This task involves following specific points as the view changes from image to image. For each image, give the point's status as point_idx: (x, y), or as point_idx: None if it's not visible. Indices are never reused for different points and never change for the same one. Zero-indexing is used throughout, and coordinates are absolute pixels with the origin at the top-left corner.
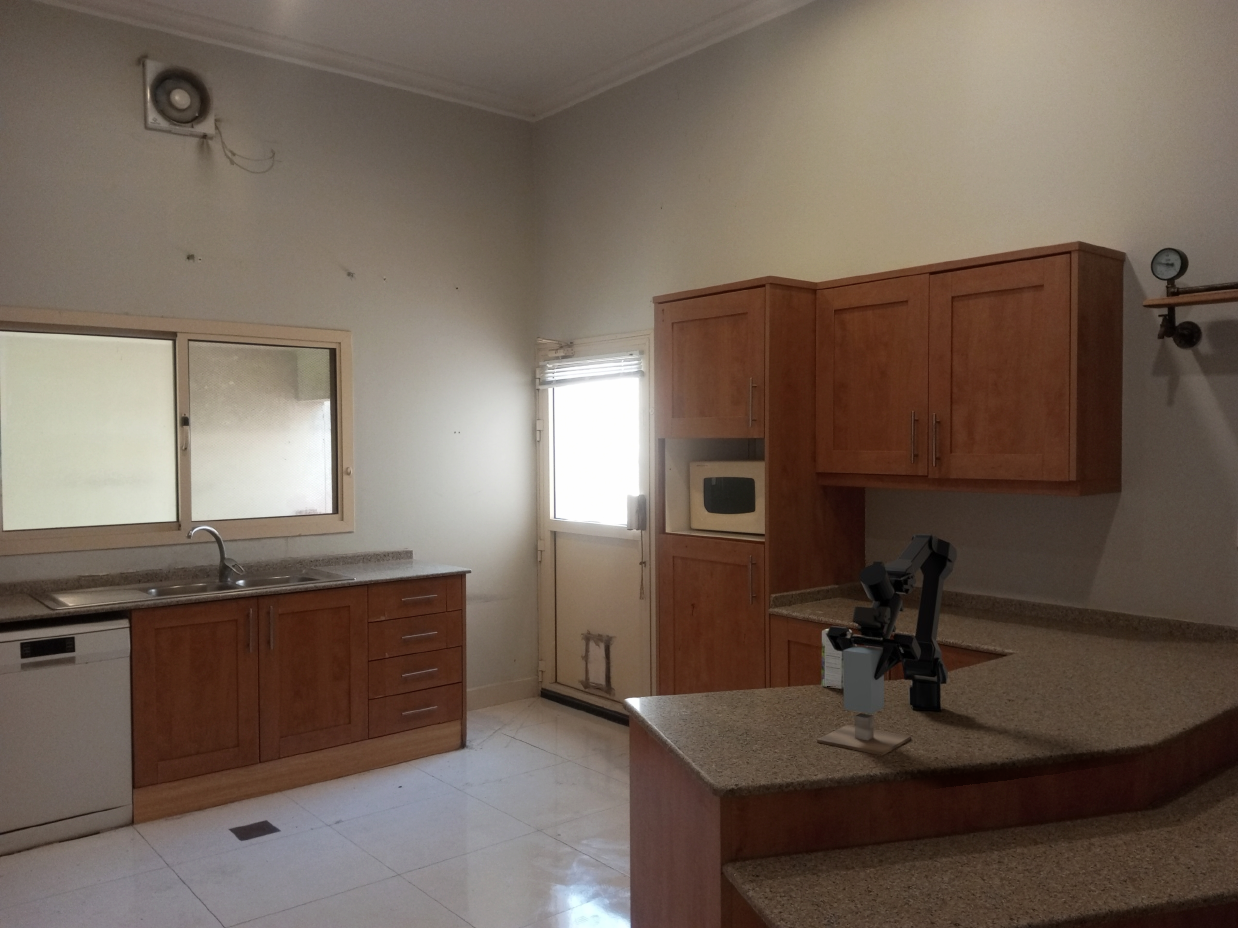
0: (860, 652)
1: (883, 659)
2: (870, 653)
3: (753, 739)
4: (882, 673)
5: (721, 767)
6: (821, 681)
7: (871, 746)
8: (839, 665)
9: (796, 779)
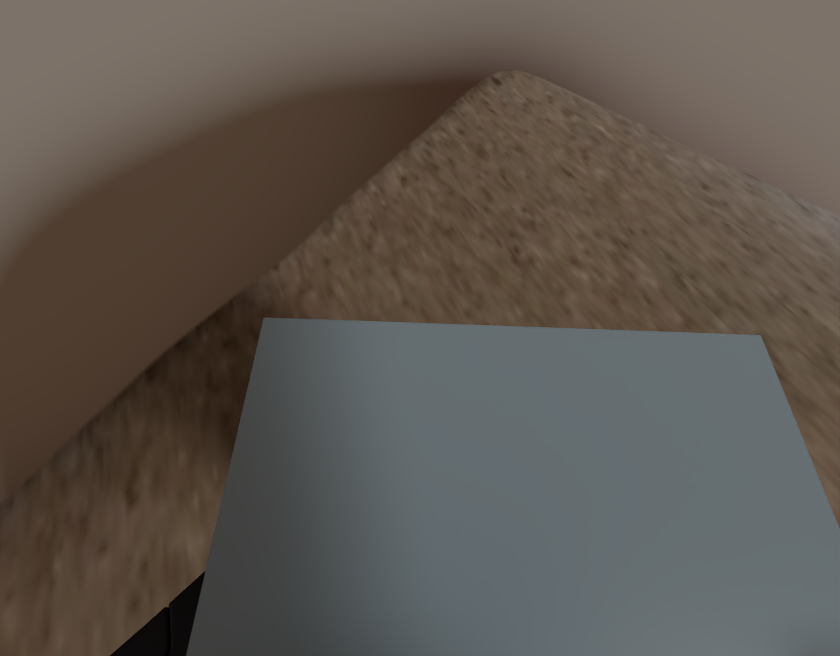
0: (455, 332)
1: (151, 654)
2: (283, 353)
3: (701, 323)
4: None
5: (583, 129)
6: None
7: None
8: None
9: (423, 143)
